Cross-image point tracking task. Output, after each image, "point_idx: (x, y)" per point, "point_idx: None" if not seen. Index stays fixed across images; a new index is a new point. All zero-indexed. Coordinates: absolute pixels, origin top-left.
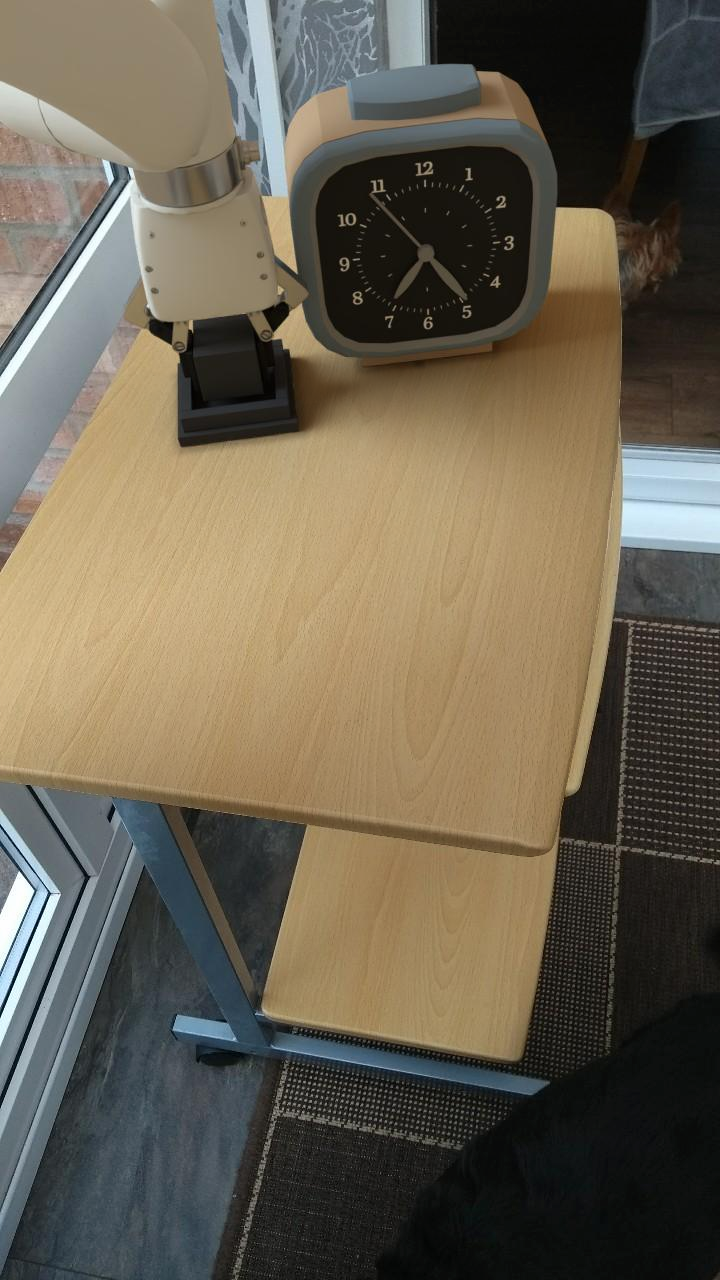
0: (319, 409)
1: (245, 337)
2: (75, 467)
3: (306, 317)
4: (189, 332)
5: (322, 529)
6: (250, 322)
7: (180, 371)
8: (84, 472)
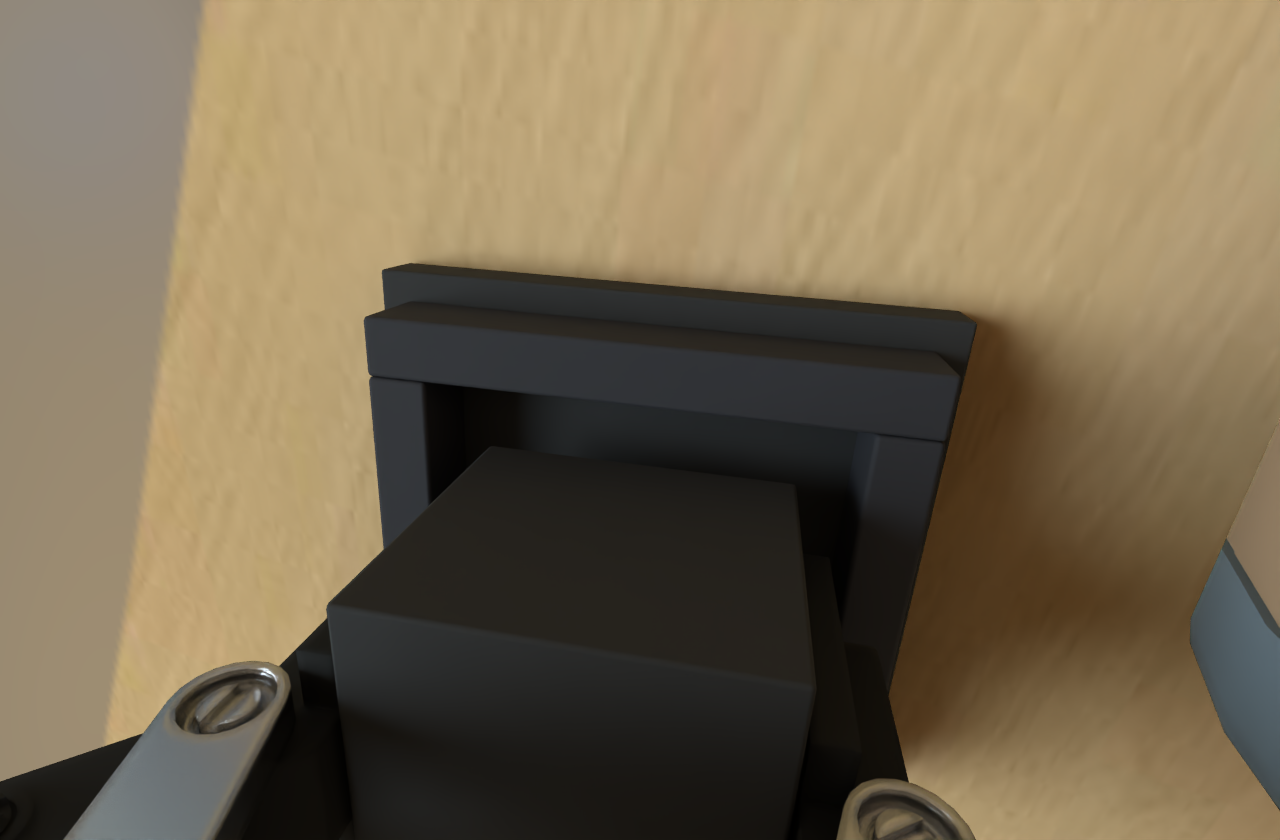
0: (976, 683)
1: None
2: (127, 646)
3: (1265, 787)
4: (308, 785)
5: None
6: (773, 794)
7: (379, 477)
8: (159, 674)
